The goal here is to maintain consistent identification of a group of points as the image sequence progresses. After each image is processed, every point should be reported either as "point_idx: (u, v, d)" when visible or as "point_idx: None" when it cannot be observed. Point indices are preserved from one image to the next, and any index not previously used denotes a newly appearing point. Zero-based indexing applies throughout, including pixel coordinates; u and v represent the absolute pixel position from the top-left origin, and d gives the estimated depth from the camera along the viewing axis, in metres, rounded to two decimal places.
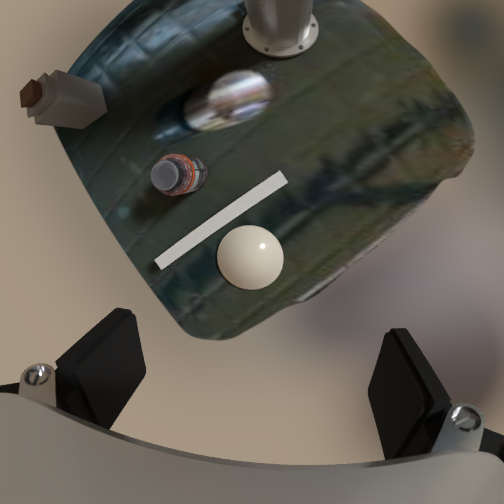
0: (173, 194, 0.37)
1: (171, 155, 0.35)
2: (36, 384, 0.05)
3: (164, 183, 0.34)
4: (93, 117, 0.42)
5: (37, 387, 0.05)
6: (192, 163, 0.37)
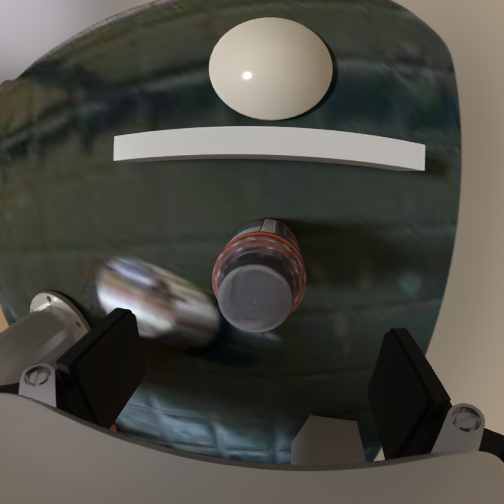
0: (282, 247, 0.16)
1: None
2: (36, 384, 0.05)
3: (266, 286, 0.14)
4: (329, 425, 0.29)
5: (37, 387, 0.05)
6: None
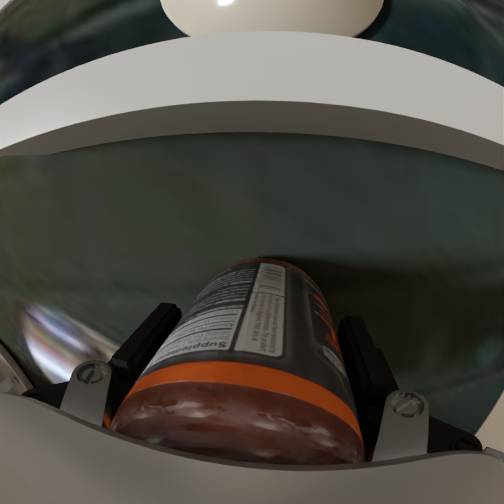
0: (308, 441, 0.04)
1: None
2: (88, 381, 0.06)
3: None
4: None
5: (88, 385, 0.06)
6: None
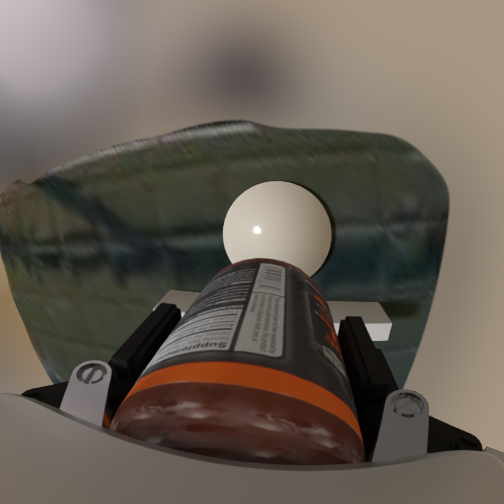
0: (308, 442, 0.04)
1: None
2: (88, 381, 0.06)
3: None
4: None
5: (88, 385, 0.06)
6: None
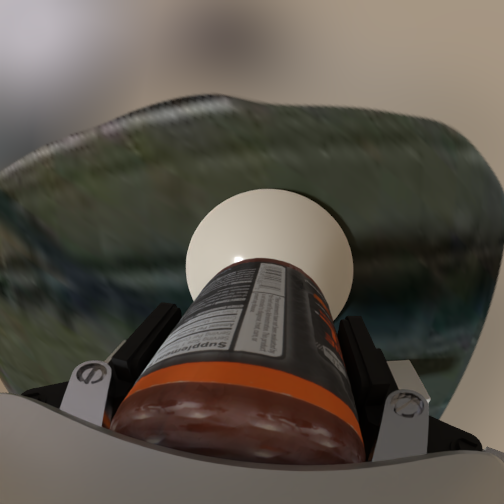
0: (308, 442, 0.04)
1: None
2: (88, 381, 0.06)
3: None
4: None
5: (88, 385, 0.06)
6: None
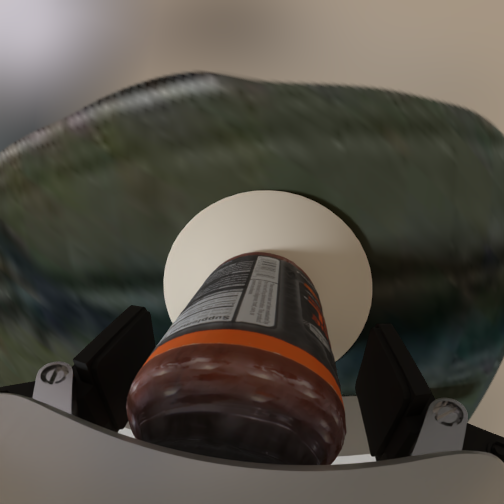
0: (294, 391, 0.05)
1: None
2: (52, 382, 0.05)
3: None
4: None
5: (53, 385, 0.05)
6: None
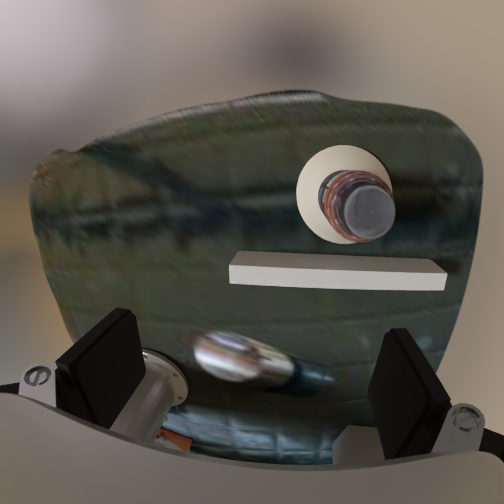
0: (380, 179, 0.20)
1: (341, 233, 0.22)
2: (36, 384, 0.05)
3: (379, 201, 0.18)
4: (361, 432, 0.38)
5: (37, 387, 0.05)
6: (324, 199, 0.23)
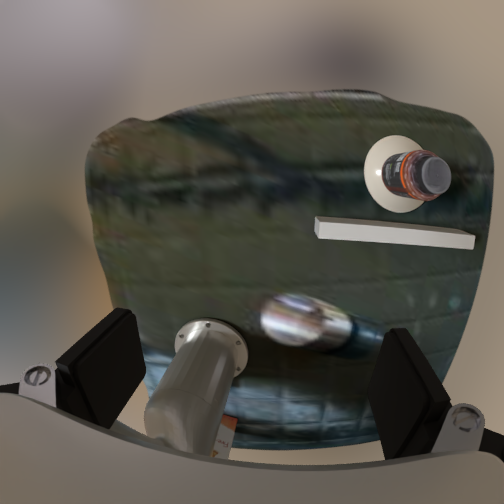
0: (437, 156, 0.25)
1: (414, 192, 0.26)
2: (36, 384, 0.05)
3: (442, 167, 0.23)
4: None
5: (37, 387, 0.05)
6: (399, 169, 0.28)
